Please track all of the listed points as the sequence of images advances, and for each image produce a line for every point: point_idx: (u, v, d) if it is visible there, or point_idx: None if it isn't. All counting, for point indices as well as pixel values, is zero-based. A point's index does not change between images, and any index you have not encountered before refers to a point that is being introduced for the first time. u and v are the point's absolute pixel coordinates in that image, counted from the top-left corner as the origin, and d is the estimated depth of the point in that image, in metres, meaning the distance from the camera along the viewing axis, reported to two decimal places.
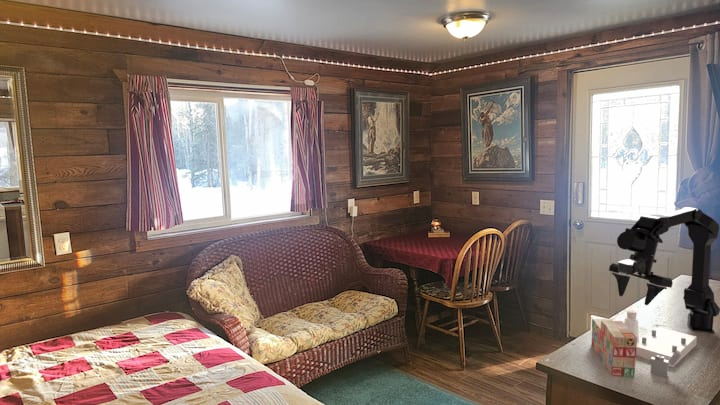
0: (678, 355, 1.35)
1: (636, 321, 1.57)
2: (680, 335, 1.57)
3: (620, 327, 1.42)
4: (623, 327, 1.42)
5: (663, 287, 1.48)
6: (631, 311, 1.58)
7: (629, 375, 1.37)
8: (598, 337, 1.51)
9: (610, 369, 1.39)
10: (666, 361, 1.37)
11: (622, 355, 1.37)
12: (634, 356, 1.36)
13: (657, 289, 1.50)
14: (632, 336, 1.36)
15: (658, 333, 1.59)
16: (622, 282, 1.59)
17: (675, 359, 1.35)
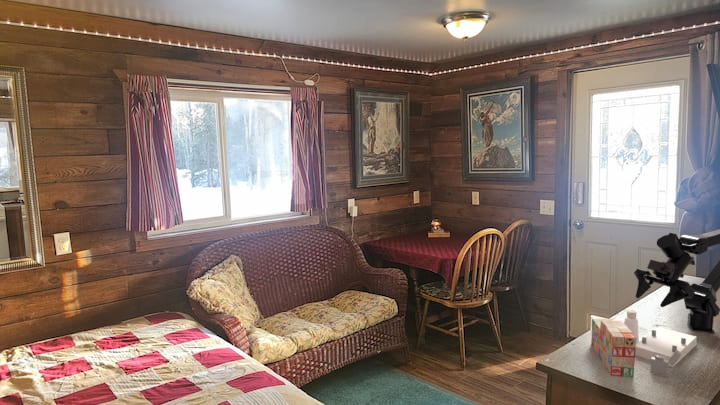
0: (678, 355, 1.35)
1: (636, 321, 1.57)
2: (680, 335, 1.57)
3: (619, 327, 1.42)
4: (622, 327, 1.42)
5: (684, 295, 1.53)
6: (631, 311, 1.58)
7: (628, 375, 1.37)
8: (598, 337, 1.51)
9: (609, 369, 1.39)
10: (666, 361, 1.37)
11: (621, 355, 1.37)
12: (633, 356, 1.36)
13: (677, 296, 1.55)
14: (631, 336, 1.36)
15: (658, 333, 1.59)
16: (643, 286, 1.65)
17: (675, 359, 1.35)
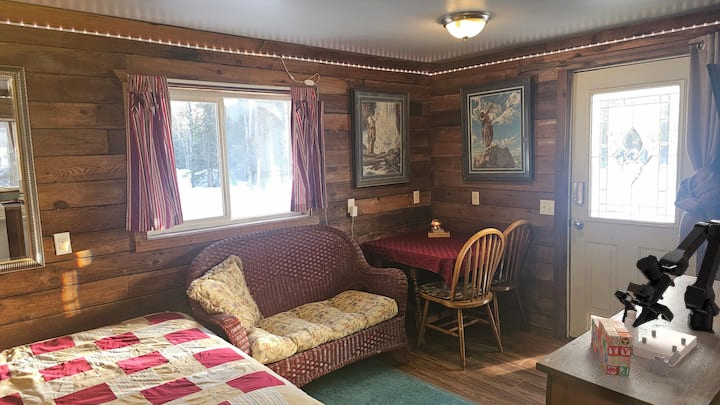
0: (678, 355, 1.35)
1: None
2: (680, 335, 1.57)
3: (617, 326, 1.43)
4: (620, 326, 1.43)
5: (656, 315, 1.54)
6: (631, 311, 1.58)
7: (624, 374, 1.38)
8: (596, 336, 1.51)
9: (605, 368, 1.40)
10: (666, 361, 1.37)
11: (617, 354, 1.37)
12: (629, 355, 1.37)
13: (649, 317, 1.56)
14: (627, 335, 1.37)
15: (658, 333, 1.59)
16: None
17: (675, 359, 1.35)
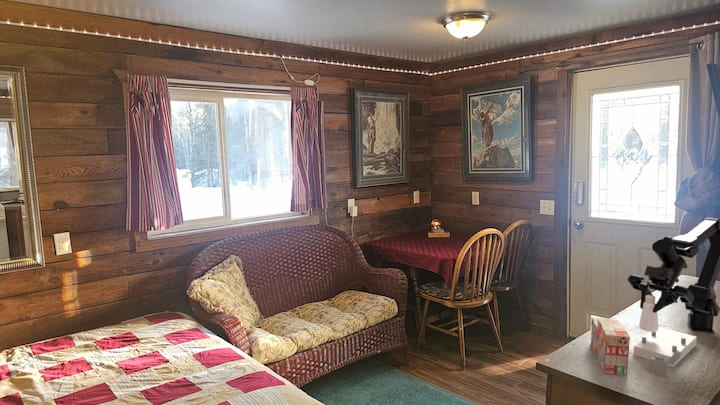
0: (678, 355, 1.35)
1: None
2: (680, 335, 1.57)
3: (615, 326, 1.43)
4: (618, 326, 1.43)
5: (675, 299, 1.50)
6: (650, 296, 1.53)
7: (622, 373, 1.38)
8: (595, 336, 1.52)
9: (603, 367, 1.40)
10: (666, 361, 1.37)
11: (614, 353, 1.38)
12: (627, 355, 1.37)
13: (668, 300, 1.52)
14: (625, 335, 1.37)
15: (658, 333, 1.59)
16: None
17: (675, 359, 1.35)
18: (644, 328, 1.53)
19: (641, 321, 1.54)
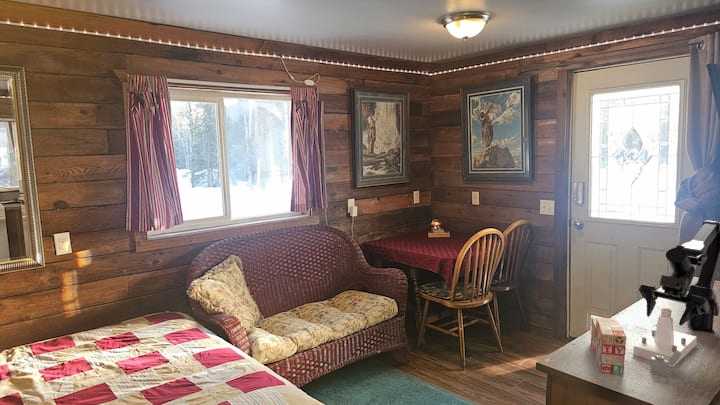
0: (678, 355, 1.35)
1: (672, 319, 1.50)
2: (680, 335, 1.57)
3: (613, 325, 1.44)
4: (616, 325, 1.43)
5: (701, 310, 1.46)
6: (666, 309, 1.50)
7: (618, 373, 1.39)
8: (594, 335, 1.52)
9: (599, 366, 1.41)
10: (666, 361, 1.37)
11: (611, 352, 1.38)
12: (623, 354, 1.37)
13: (693, 312, 1.47)
14: (622, 334, 1.38)
15: None
16: (651, 303, 1.55)
17: (675, 359, 1.35)
18: (660, 342, 1.50)
19: (657, 335, 1.52)
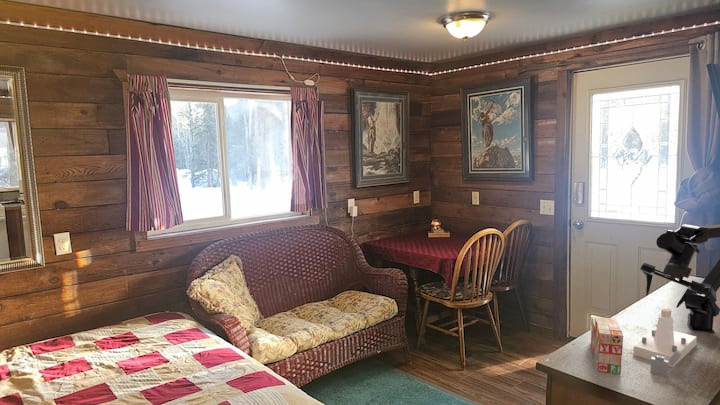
0: (678, 355, 1.35)
1: (672, 319, 1.50)
2: (680, 335, 1.57)
3: (611, 325, 1.44)
4: (614, 325, 1.44)
5: (696, 293, 1.58)
6: (666, 309, 1.50)
7: (615, 372, 1.39)
8: (593, 334, 1.53)
9: (597, 365, 1.41)
10: (666, 361, 1.37)
11: (608, 352, 1.39)
12: (620, 353, 1.38)
13: None
14: (619, 334, 1.38)
15: None
16: (651, 282, 1.65)
17: (675, 359, 1.35)
18: (660, 342, 1.50)
19: (657, 335, 1.52)
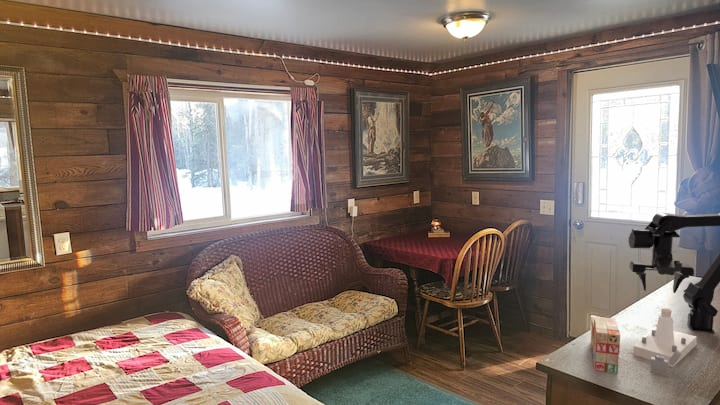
0: (678, 355, 1.35)
1: (672, 319, 1.50)
2: (680, 335, 1.57)
3: (609, 324, 1.44)
4: (612, 325, 1.44)
5: None
6: (666, 309, 1.50)
7: (612, 371, 1.39)
8: (592, 334, 1.53)
9: (594, 364, 1.42)
10: (666, 361, 1.37)
11: (605, 351, 1.39)
12: (617, 353, 1.38)
13: None
14: (616, 333, 1.39)
15: None
16: None
17: (675, 359, 1.35)
18: (660, 342, 1.50)
19: (657, 335, 1.52)
